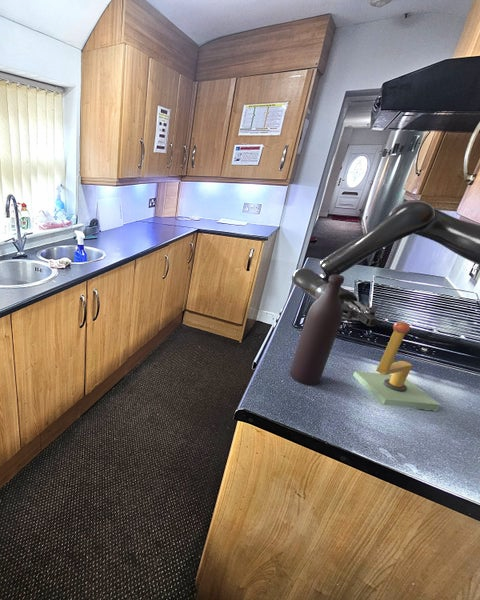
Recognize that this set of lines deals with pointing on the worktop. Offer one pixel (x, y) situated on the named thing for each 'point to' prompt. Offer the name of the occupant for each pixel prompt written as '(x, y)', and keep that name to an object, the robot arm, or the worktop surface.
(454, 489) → the worktop surface
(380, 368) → the rod
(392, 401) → the stand
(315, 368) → the wine bottle
